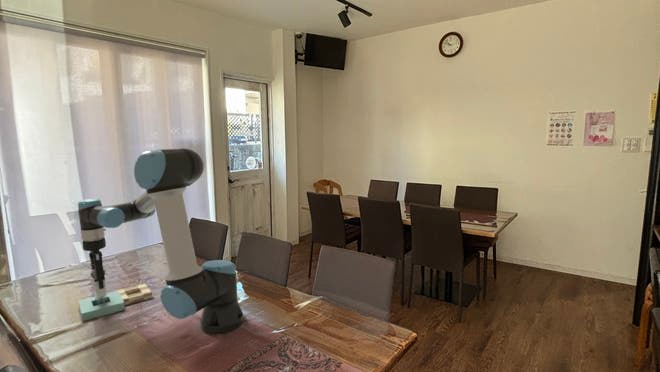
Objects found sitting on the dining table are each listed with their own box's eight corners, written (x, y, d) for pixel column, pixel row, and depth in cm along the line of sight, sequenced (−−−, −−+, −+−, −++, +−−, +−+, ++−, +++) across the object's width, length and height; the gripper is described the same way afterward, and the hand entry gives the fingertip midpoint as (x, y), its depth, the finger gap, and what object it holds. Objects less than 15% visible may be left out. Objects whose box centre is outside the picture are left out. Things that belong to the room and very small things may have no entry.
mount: (152, 297, 153) (151, 292, 153) (120, 306, 146) (119, 300, 145) (145, 288, 162) (145, 283, 162) (115, 296, 155) (114, 290, 155)
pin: (110, 308, 144) (106, 272, 142) (95, 312, 141) (91, 275, 139) (108, 304, 148) (104, 269, 146) (93, 308, 145) (89, 272, 143)
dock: (124, 309, 143) (124, 302, 143) (82, 321, 135) (81, 313, 134) (118, 297, 154) (118, 290, 154) (79, 307, 145) (78, 300, 145)
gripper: (109, 244, 133) (115, 298, 136) (100, 230, 152) (106, 278, 155) (85, 248, 128) (92, 304, 131) (79, 233, 147) (85, 282, 151)
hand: (99, 290), depth 143 cm, fingers open, 13 cm apart
